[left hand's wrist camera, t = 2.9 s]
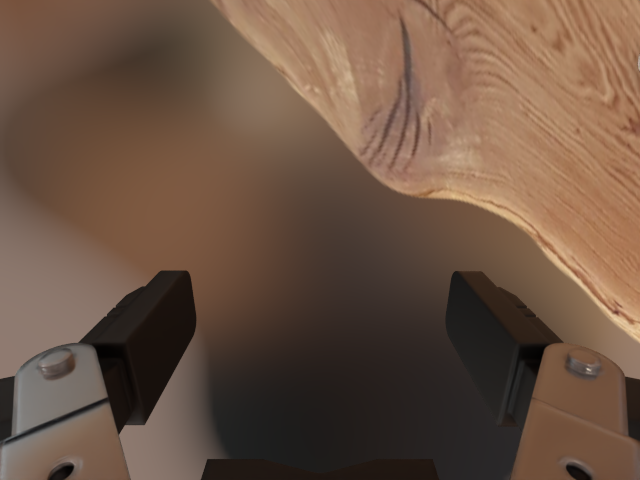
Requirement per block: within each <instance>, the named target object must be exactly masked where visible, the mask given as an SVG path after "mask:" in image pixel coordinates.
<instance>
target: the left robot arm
mask: <svg viewBox="0 0 640 480" xmlns="http://www.w3.org/2000/svg"><path fill="white" fill-rule="evenodd" d="M195 328H196V311H195V304H194V297H193V290H192V283H191V277H190V274H189V272H188V271H160V272H159V273H158V274H157V275H156V276H155V277H154V278H153V279H152V280H151V281H150V282H149V283H148V284H147V285H146V286H145V287H140V288H139V289H137V290H135V291H133V292H131V293H130V294H128V295H126V296H125V297H124V298H123V299H122V300H121V301H120V302H119V303H118V304H117V305H116V308H113V309H112V310H111V311H110V312H109V313H108V314H107V317H104V318H103V319H102V320H101V321H100V322H99V323H98V324H97V325H96V326H95V327H94V328H93V329H92V330H91V331H90V332H89V333H88V334H87V335H86V336H85V337H84V338H82V339H81V340H80V341H79V342H78V343H71V344H65V345H61V346H57V347H54V348H51V349H49V350H46V351H44V352H42V353H40V354H38V355H36V356H34V357H33V358H31V359H30V360H28V361H27V362H26V363H25V364H23V365H22V366H21V367H20V369H19V370H18V371H17V373H16V375H15V376H13V377H8V378H3V379H0V480H131V479H130V475H129V471H128V468H127V464H126V460H125V456H124V453H123V449H122V445H121V442H120V438H119V434H120V432H121V430H122V429H123V427H124V426H125V425H145V423H146V421H147V420H148V418H149V416H150V414H151V412H152V411H153V409H154V407H155V405H156V403H157V401H158V400H159V398H160V396H161V394H162V392H163V390H164V389H165V387H166V385H167V383H168V381H169V379H170V378H171V376H172V374H173V372H174V370H175V368H176V367H177V365H178V363H179V361H180V359H181V358H182V356H183V354H184V352H185V350H186V348H187V346H188V345H189V343H190V341H191V339H192V337H193V335H194V332H195ZM446 329H447V333H448V336H449V338H450V340H451V342H452V344H453V345H454V347H455V349H456V351H457V353H458V354H459V356H460V358H461V360H462V362H463V364H464V365H465V367H466V369H467V371H468V373H469V374H470V376H471V378H472V380H473V382H474V383H475V385H476V387H477V389H478V391H479V392H480V394H481V396H482V398H483V400H484V401H485V403H486V405H487V407H488V409H489V411H490V412H491V414H492V416H493V418H494V420H495V421H496V423H497V425H498V426H518V427H519V428H520V430H521V432H522V434H521V438H520V442H519V445H518V449H517V453H516V456H515V460H514V464H513V468H512V471H511V475H510V479H509V480H640V380H639V379H634V378H629V377H625V375H624V373H623V371H622V370H621V369H620V367H619V366H618V365H617V364H615V363H614V362H613V361H612V360H610V359H609V358H607V357H606V356H604V355H602V354H600V353H598V352H596V351H594V350H592V349H589V348H586V347H583V346H579V345H575V344H569V343H564V342H563V341H562V340H561V339H560V338H559V337H558V336H557V335H556V334H555V333H554V332H553V331H551V330H550V329H549V328H548V327H547V326H546V325H545V324H544V323H543V322H542V321H541V320H540V319H539V318H538V317H536V315H535V314H534V313H533V312H532V311H531V310H530V309H529V308H527V306H526V305H525V304H524V303H523V302H522V301H521V300H520V299H519V298H518V297H517V296H515V295H514V294H512V293H510V292H508V291H506V290H504V289H503V288H501V287H496V285H495V284H494V283H493V282H492V281H491V280H490V279H489V278H488V277H487V276H486V275H485V274H484V273H483V272H481V271H455V272H454V273H453V275H452V278H451V284H450V291H449V297H448V304H447V311H446ZM201 480H439V478H438V475H437V472H436V469H435V465H434V462H433V459H376V460H372V461H369V462H365V463H361V464H357V465H353V466H349V467H345V468H342V469H338V470H334V471H330V472H326V473H314V472H310V471H306V470H302V469H298V468H294V467H291V466H287V465H283V464H279V463H275V462H271V461H268V460H264V459H208V460H207V462H206V465H205V469H204V472H203V475H202V478H201Z"/></svg>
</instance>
